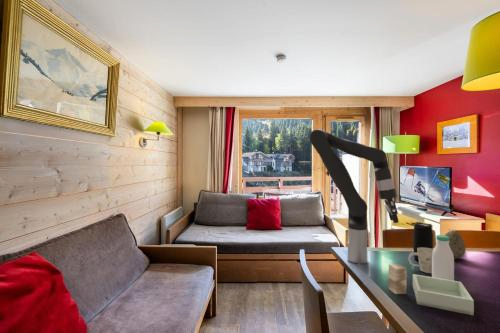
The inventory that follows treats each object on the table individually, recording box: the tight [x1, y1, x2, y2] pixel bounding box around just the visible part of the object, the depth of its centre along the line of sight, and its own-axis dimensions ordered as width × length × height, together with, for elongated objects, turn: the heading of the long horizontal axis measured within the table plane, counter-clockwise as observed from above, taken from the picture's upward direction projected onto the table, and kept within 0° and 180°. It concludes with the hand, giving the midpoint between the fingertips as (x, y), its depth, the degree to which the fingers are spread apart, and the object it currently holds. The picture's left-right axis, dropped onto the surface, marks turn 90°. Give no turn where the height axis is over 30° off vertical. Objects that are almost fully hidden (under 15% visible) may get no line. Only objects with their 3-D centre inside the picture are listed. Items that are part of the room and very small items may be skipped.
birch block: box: [388, 263, 408, 295], centre depth 105 cm, size 4×4×10 cm
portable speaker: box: [412, 221, 434, 261], centre depth 139 cm, size 9×9×20 cm
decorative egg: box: [444, 230, 467, 260], centre depth 142 cm, size 11×11×15 cm
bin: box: [412, 273, 475, 316], centre depth 99 cm, size 16×16×5 cm
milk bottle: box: [431, 234, 455, 281], centre depth 113 cm, size 8×8×20 cm
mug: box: [407, 247, 434, 274], centre depth 125 cm, size 8×13×10 cm, turn 78°
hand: (394, 221), depth 128 cm, fingers open, 8 cm apart
